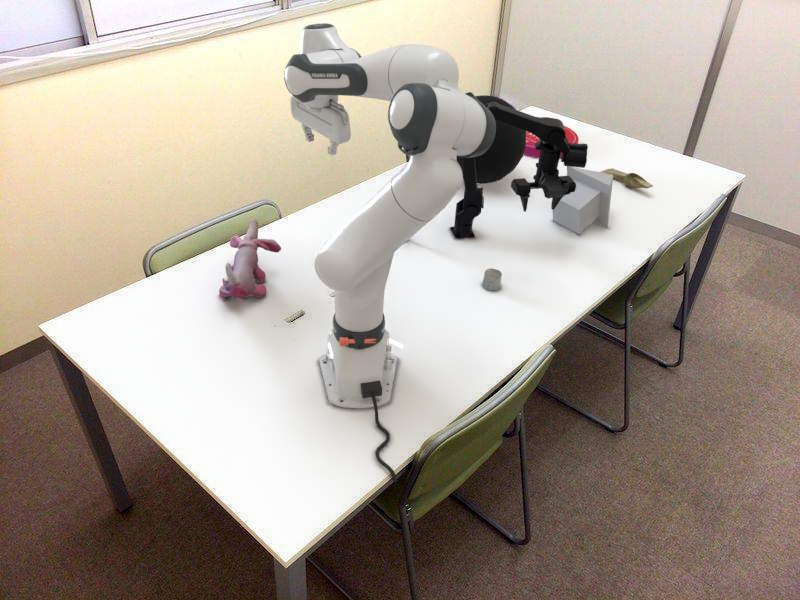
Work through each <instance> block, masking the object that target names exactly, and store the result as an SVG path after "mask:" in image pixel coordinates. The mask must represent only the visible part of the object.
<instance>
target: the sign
mask: <svg viewBox="0 0 800 600" xmlns="http://www.w3.org/2000/svg"><path fill="white" fill-rule="evenodd" d="M564 128H565V135H566V137H567V138H568V143H576V144H579V136H578V134H577V132H575V131H574V130H573V129H571V127H568V126H567V125H564ZM538 141H540V139H539V138H538V137H537V136H535V135H534V134H532V133H530V132H527V131H526V148H525V151H524V154H523V156H527V157H532V158H536V159H539V156H540V151H541V150H536V149H535V143H536V142H538ZM561 155H562V152H561V153H560V158H559V159H561Z"/></svg>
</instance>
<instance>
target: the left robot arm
mask: <svg viewBox="0 0 800 600" xmlns="http://www.w3.org/2000/svg"><path fill="white" fill-rule="evenodd" d="M299 43H300V44H299V53H297V54H296V53H295V54H293V55H292V56H291V57H290V59H289V60H288V62H287V63H286V66H285V68H284V72H283V80H284V84H285V87H286V90H287V91H288V92H289V93H290V97H289V99H290V102H289V103H290V105H289V106H290V114H291V116H292V118H293V120H295V121H297V122H299V123H301V128H302V130H303V133H304V139H305V141H307V142H308V143H311V142H313V141H315V134H314V133H313V131H314V132H316V133H318V134H320V135H322V136H323V137H325V138H326V139H329V143H330V145H329V146H327V148H326V149H327V153H328V154H329V155H330V156H334V155H336V154H337V152H338V147H339V145H342V144H344V143H345V144H346V143H348V142H349V141H350V140H351V121H350V116H349V113H348V111H347V110H346V108H345V106H344V105H343V104H342V103H340V102H339V96H347V97H359V98H366V99H374V100H381V101H387V102H389V105H388V110H387V121H388V124H389V128H390V131H391V134H392V137H394V139H395V140H396V142H397V148H398V149H399V151H400V152H402V153H403V154H404V155H406V156H409V160H408V162H407V163H406V164H405V165H404V166H403V167H402V168H401V169H400V170H399V171H398V172H397V173H395V175H393V177H391V179H390V180H389V181H387V183H385V185H384V186H382V187H381V189H379V191H377V192H376V193H375V194H374V195H373V196H372V197H371V198H370V199H369V200H368V201H367V202H366V203H364V205H363V206H362V207H360V209H359V210H358V211H357V212H356V213H354V214H353V215H352V216H351V217H350V218H349V219H348V220H347V221H346V222H345V223H344V224H343V225H342V226H341V227H340V228H339V229H338V230H337V231H336V232H334V234H332V235H331V236H330V237H329V238H328V239H327V240H326V241H325V243H324V244H323V246H322V247H321V248H320V249H319V251H318V253H317V254H316V256H315V258H314V263H313V265H314V270H315V273H316V275H317V277H318V279H319V280H320V281H321V283H322V284H323V285H324V286H326V287H327V288H329V289H331V290H333V291H334V313H333V317H332V329H331V330H330V331H329V332H328V333H327V334H326V335H327V339H326V340H327V345H326V346H327V350H326V351H327V353H325V354H323V355H321V356H320V357H319V366H320V370H321V374H322V378H323V382H324V387H325V390H326V391H325V392H326V394H327V400H328V402H329V404H332V405H334V406H337V407H340V408H345V409H371V408H373V410H374V422H375V424H376V427H377V428H378V429H379V430H380V431H381V432H383V433H384V434H385V436H386V437H385V440H384V441H383V442H382V443H381V444H380V445H379V446H378V447H376V450H375V459H376V461H377V462H378V463H379V464H380V465H381V466H383V467H384V468H385V469H386V470H387V471H388V472H389V473H390V475H391V478H392V480H393V483H398V478H397V475H396V472H395V471H394V469H393V468H392V467H391V466H390V464H388V463H386V461H384V460H383V459H382V458H381V455H380V451H382V449H383V448H384V447H386V445H388V443H389V442H390V439H391V434H390V432H389V431H388V430H387V429H386V428H384V427H383V425H382V424H381V423H380V419H379V408H378V407H381V406H383V405H387V404H388V403H389V402H390V401H391V396H392V391H393V386H394V382H395V381H394V380H395V376H396V370H397V364H398V357H397V356H396V355H395V354H393V353H391V352H392V345H394V346H396V347H399V348H400V349H403V347H404V345H403V344H401V343H399V342H397V341H396V340H393V339H392V338H391V334H390V332H389V331H387V330H386V318H385V313H384V306H385V290H386V286H387V282H388V277H389V274H390V271H391V266H392V263H393V258H394V254H395V252H397V251H398V250H399V249H400V248H401V247H402V246H403V245H404V244H405V243H406V242H408V241H409V240H410V239H411V238H412V237H413V236H414V235H415V234H417V233H418V232H419V231H420V230H422V229H423V228H424V227H425V226H426V225H428V223H429V222H431V221H432V220H433V219H434V218H435V217H437V216H438V215H439V214H440V213H441V212H443V210H444V209H445V208H447V206H448V205H449V204H450V202H451V201H452V200H453V199H454V197H455V196H456V195H457V194H458V193H459V191H460V190H461V188H462V185H463V182H464V179H463V173H462V170H461V167H460V165H459V163H458V162H457V156H458V157H462V158H472V157H477V156H480V155H482V154H484V153H485V152H486V151H487V150H488V149H489V148H490V146H491V145H492V143H493V140H494V138H495V133H496V122H495V118H494V116H493V114H492V113H491V111H490V110H489V109H488V108H487V107H486V106H485V105H483V104H482V103H481V102H480V101H479V100H478V99H477V98H476V97H475V96H476V95H475V94H474V93H473V92H470V91H469V92H463V91H461V89H460V88H459V80H460V79H459V78H460V72H459V66H458V63H457V61H456V59H455V58H454V57H453V55H452V54H450V52H448V51H447V50H444V49H441V48H439V47H436V46H431V45H425V44H413V43H411V44H409V43H408V44H406V43H405V44H400V45H395V46H390V47H386V48H384V49H381V50H378V51H376V52H372V53H370V54H366V55H364V56H361V54H360V53H359V52H358V51H357V50H356V49H355V48H352V47H349V46H348V44H346V43H345V42H344V41H343V40H342V39H341V38H340V36H339V33H338V29H337V28H336V26H335V25H334V24H332V23H328V22H327V23H325V22H324V23H313V24H308V25H306V26H304V27H302V30H301V34H300V41H299ZM338 102H339V103H338ZM390 344H392V345H390Z"/></svg>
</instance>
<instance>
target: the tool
mask: <svg viewBox="0 0 800 600" xmlns="http://www.w3.org/2000/svg"><path fill="white" fill-rule="evenodd" d="M601 173H606V174H611V175H613V180H614V179H615V180H617V181H620V182H623V183H625V184H626V187H628V188H630V189H650V188H653V187H654V185H653V184H652V183H650V182H649V181H647V180H646V179H645V178H643V177H642V176H641V175H639V174H638V173H635V172H629V173H626V172H624V171H621V170H618V169H616V168H612V167H611V168H607V169H604V170H602V171H601Z"/></svg>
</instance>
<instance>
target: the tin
mask: <svg viewBox="0 0 800 600" xmlns="http://www.w3.org/2000/svg"><path fill="white" fill-rule="evenodd" d="M502 276H503V273H502V272H501V271H500V269H497V268H488V269H485V271H484V274H483V279H482V287H483V288H484V289H485V290H487V291H491V292H495V291H498V290H500V287H501V282H502Z"/></svg>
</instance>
